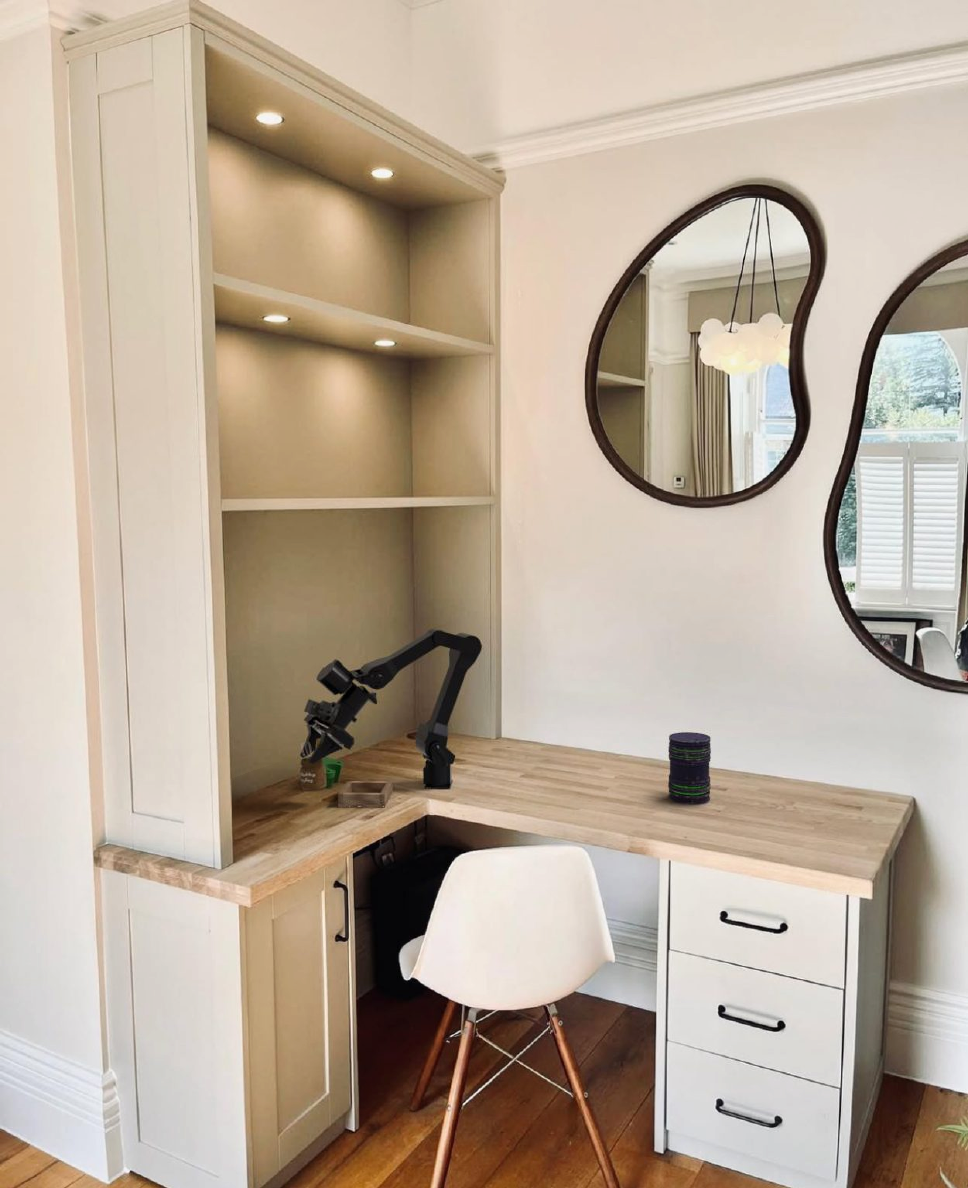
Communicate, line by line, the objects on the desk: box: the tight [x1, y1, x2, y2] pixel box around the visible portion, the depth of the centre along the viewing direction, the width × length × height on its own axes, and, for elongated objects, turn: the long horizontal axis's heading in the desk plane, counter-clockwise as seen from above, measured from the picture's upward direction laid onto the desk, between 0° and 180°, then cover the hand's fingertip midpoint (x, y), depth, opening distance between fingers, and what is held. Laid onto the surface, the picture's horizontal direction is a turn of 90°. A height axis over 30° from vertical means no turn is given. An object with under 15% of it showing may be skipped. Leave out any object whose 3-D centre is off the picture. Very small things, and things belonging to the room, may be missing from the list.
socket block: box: [337, 780, 393, 808], centre depth 240 cm, size 11×11×4 cm
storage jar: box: [667, 731, 712, 806], centre depth 238 cm, size 10×10×15 cm
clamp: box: [322, 756, 345, 789], centre depth 254 cm, size 12×6×9 cm, turn 164°
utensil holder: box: [299, 738, 327, 792], centre depth 236 cm, size 6×6×12 cm
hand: (305, 759), depth 235 cm, fingers closed on utensil holder, 5 cm apart
